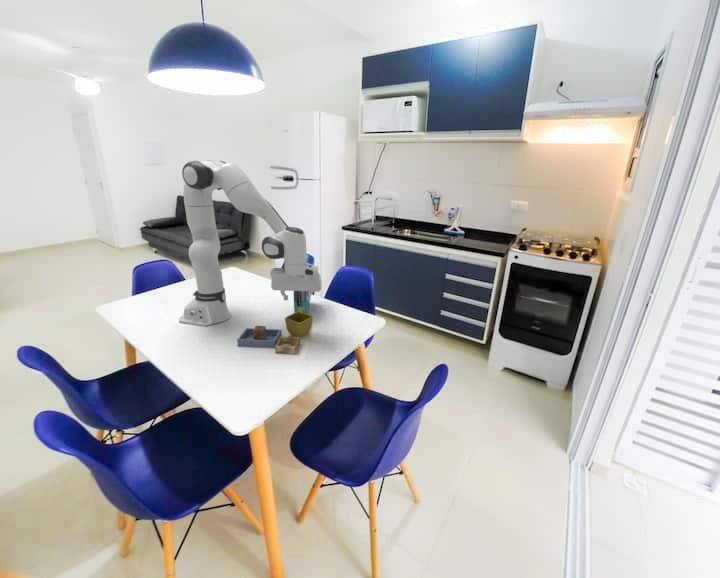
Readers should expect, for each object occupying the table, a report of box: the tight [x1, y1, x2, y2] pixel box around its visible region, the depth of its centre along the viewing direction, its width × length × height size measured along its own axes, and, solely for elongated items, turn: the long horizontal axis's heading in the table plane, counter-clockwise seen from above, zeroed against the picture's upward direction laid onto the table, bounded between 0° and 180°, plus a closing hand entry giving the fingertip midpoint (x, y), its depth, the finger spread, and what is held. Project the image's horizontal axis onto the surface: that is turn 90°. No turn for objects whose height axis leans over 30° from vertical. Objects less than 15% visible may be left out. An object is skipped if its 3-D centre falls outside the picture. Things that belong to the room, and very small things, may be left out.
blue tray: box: [236, 327, 283, 349], centre depth 137 cm, size 15×10×4 cm
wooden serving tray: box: [274, 335, 302, 355], centre depth 132 cm, size 8×8×4 cm
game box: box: [293, 254, 310, 315], centre depth 164 cm, size 20×6×27 cm, turn 5°
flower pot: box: [284, 311, 314, 339], centre depth 143 cm, size 9×9×9 cm
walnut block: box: [253, 325, 267, 340], centre depth 137 cm, size 4×4×6 cm
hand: (297, 300), depth 137 cm, fingers open, 8 cm apart
